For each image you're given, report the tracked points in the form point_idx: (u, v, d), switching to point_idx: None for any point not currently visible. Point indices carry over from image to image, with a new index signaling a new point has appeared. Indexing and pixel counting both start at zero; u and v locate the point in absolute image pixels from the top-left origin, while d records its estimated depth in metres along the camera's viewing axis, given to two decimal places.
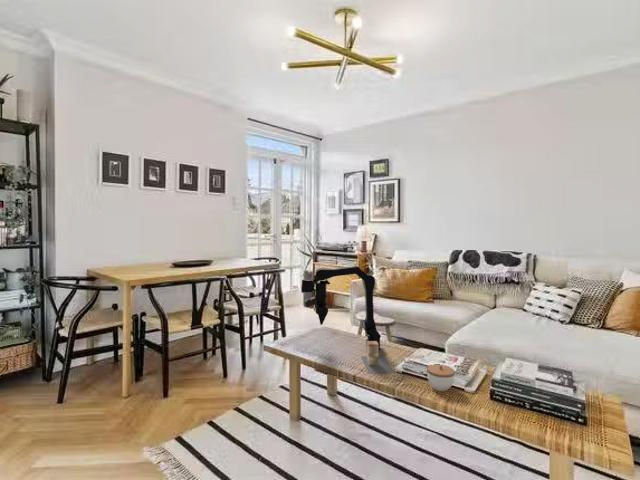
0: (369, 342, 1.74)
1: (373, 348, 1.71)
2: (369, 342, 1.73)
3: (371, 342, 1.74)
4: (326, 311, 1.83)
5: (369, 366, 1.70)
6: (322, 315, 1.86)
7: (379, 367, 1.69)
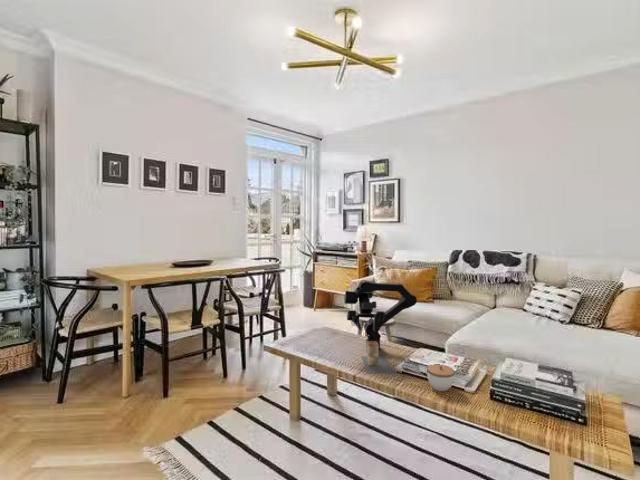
0: (369, 342, 1.74)
1: (373, 348, 1.71)
2: (369, 342, 1.73)
3: (371, 342, 1.74)
4: None
5: (369, 366, 1.70)
6: None
7: (379, 367, 1.69)
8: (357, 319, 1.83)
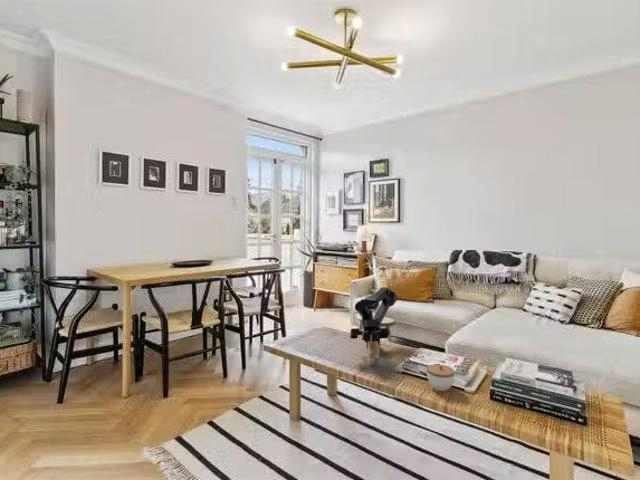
0: (370, 343, 1.71)
1: (374, 350, 1.69)
2: (370, 344, 1.70)
3: (372, 343, 1.71)
4: None
5: (369, 366, 1.70)
6: None
7: (379, 367, 1.69)
8: (367, 337, 1.77)
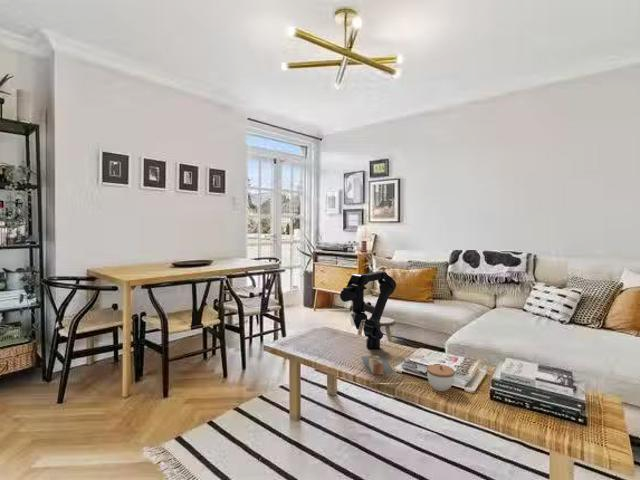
0: (374, 368, 1.61)
1: None
2: (374, 370, 1.61)
3: (377, 368, 1.61)
4: None
5: None
6: None
7: None
8: None
